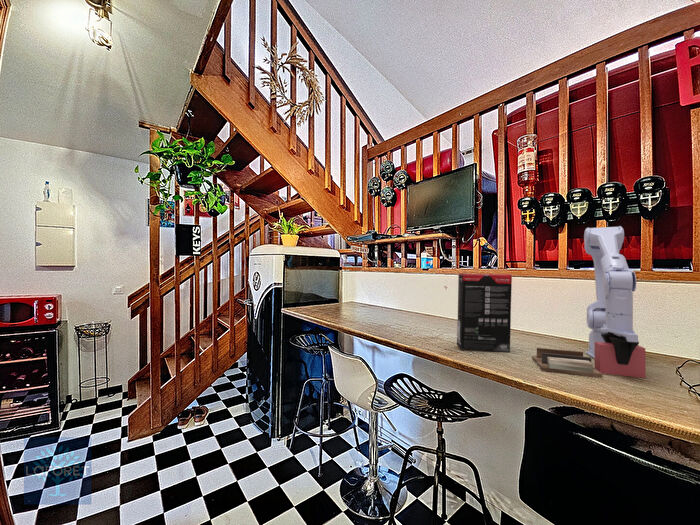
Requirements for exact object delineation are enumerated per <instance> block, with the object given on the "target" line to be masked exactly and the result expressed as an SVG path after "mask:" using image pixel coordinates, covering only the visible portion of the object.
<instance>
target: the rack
mask: <svg viewBox="0 0 700 525" xmlns="http://www.w3.org/2000/svg"><path fill="white" fill-rule="evenodd" d="M531 357H532V358H531V359H532V361H533V362H534V361H535V362H536V363H537V364H536V363H535V362H534V363H535V364H536V365H537V366H539V367H540V368H539V367H538V368H539V369H540V370H541V371H542V372H546V373H555V374H563V375H574V376H575V375H576V376H580V377H581V376H582V377H583V376H584V377H591V378H593V377H594V378H601V379H602V378H604V376H603V375H604V374H603V373H600V372H599V371H598V370H596V369H595V366H594V364H593V362H592V356H590V357H589V356H584V352H583V351H578V350H577V351H576V350H567V349H566V350H565V349H555V348H553V349H552V348H544V347H536V355H531Z"/></svg>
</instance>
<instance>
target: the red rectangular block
mask: <svg viewBox="0 0 700 525" xmlns="http://www.w3.org/2000/svg"><path fill="white" fill-rule="evenodd" d="M594 368H595V369H596V370H598V371H599V372H600V373H602V374H603V375H604V374H605V375H614V376H624V377H632V378H640V377H642V379H646V348H645V347H643V346H641V345H639V344H638V345H637V346H636V348H635V349H634V351H633V353H632V355H631V358H630V361H629V364H628V365H624V364H618V363H617V360H616V353H615V349H614V345H613V343H604V342H595V359H594Z"/></svg>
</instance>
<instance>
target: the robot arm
mask: <svg viewBox="0 0 700 525" xmlns="http://www.w3.org/2000/svg"><path fill="white" fill-rule="evenodd" d="M624 240H625V230H624V228H623V227H622V226H621V225H618V226H607V227H603V226H602V227H586V228H585V230H584V234H583V241H584V242H583V244H584V250H585V254H587V255H590V256H591V258H592V261H593V269H594V282H595V295H596V300H595V301H593V302H591V303H590V304H588V306H587V308H586V325H587V328H588V329H590V330H591V331H590V332H589V334H588V350H587V351H585V354H587V355H588V356H590V357H591V358H593V359H594V360H595V342H604V343H613V345H614V349H615V353H616V360H617V363H618V364H624V365H628V364H629V361H630V358H631V355H632V353H633V351H634V349H635V348H636V346H637V345H639V344H640V341H639V335H638V334H636V333H635V330H634V317H633V316H634V300H633V299H634V298H633V297H634V292H635V291H636V289H637V276H636V272H635V270H632V269H631V268H629V265H628V263H627V259H626V257H625V256H624V255H623V254H621V253H620V250H622V246H623V243H624Z"/></svg>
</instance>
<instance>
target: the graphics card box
mask: <svg viewBox="0 0 700 525" xmlns="http://www.w3.org/2000/svg"><path fill="white" fill-rule="evenodd" d="M512 279H513V276H512V274H511V273H510V274H509V273H507V274H503V273H501V274H500V273H458V286H457V287H458V288H457V292H458V293H457V324H456V325H457V331H456V345H457V346H458V347H459V349H461V350H462V351H463V350H467V351H480V352H481V351H484V352H487V351H488V352H502V353H510V352H511V331H512V330H511V328H512V327H511V321H512V320H511V319H512V318H511V317H512V316H511V315H512V313H511V312H512V282H513V280H512Z"/></svg>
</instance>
